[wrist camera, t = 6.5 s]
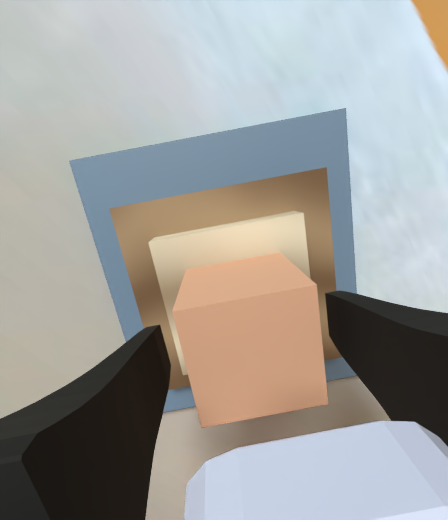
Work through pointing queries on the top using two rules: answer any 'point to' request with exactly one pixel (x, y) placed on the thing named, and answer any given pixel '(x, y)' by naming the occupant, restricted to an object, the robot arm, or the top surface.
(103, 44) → the top surface
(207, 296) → the terracotta block
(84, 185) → the plinth board
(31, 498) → the robot arm
